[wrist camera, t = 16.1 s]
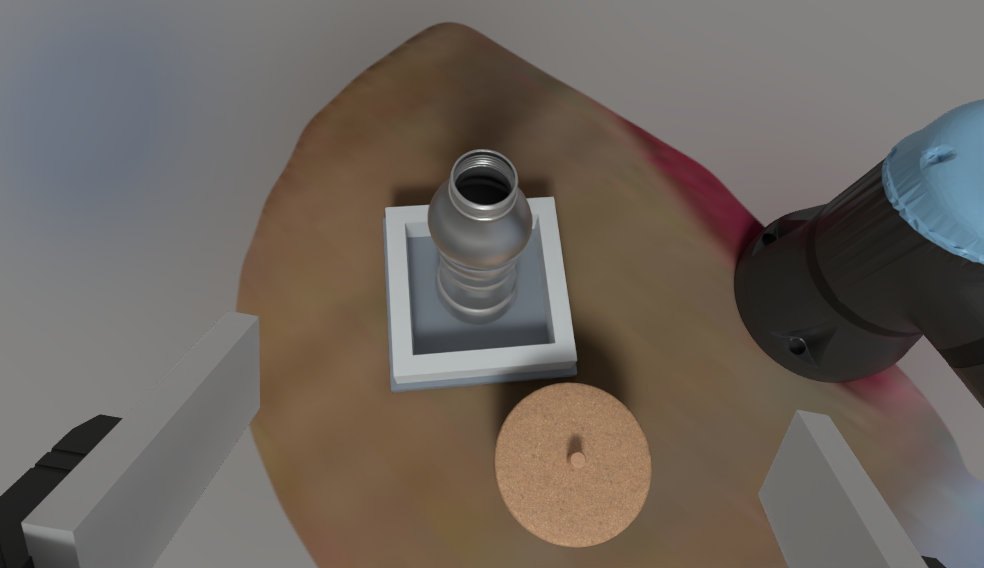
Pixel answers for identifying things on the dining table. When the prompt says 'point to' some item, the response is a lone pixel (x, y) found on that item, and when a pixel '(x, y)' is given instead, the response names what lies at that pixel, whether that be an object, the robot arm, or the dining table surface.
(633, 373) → the dining table surface
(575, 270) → the dining table surface
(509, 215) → the plastic bottle
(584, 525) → the lidded jar
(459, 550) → the dining table surface
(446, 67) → the dining table surface
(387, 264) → the light grey square tray
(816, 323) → the robot arm
